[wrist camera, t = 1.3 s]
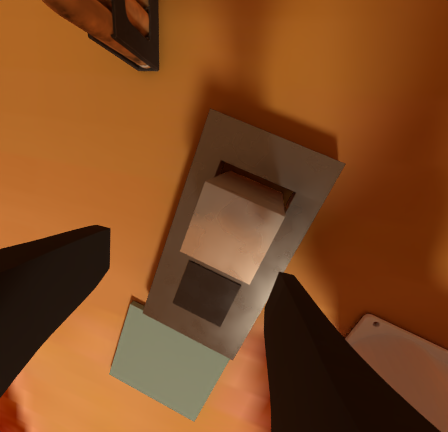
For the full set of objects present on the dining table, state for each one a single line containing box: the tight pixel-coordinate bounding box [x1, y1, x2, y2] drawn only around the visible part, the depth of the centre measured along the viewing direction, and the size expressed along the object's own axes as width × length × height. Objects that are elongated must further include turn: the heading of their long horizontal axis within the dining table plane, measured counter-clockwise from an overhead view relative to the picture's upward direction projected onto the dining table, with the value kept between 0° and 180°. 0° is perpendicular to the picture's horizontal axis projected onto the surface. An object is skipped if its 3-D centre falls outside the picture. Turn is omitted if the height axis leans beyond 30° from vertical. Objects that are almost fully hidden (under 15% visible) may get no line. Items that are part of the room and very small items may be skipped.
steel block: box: [180, 171, 285, 285], centre depth 16 cm, size 5×5×7 cm
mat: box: [109, 301, 230, 421], centre depth 26 cm, size 12×12×1 cm
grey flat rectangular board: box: [143, 108, 345, 360], centre depth 20 cm, size 10×20×2 cm, turn 158°
